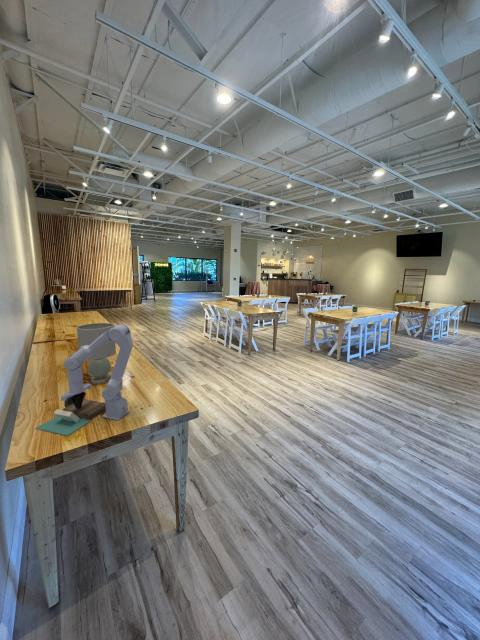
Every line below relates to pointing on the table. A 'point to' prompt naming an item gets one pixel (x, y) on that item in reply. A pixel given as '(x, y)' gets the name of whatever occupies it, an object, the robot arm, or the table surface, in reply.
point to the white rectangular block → (66, 415)
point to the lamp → (97, 350)
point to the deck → (87, 409)
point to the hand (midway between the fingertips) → (78, 408)
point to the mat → (62, 426)
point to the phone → (68, 402)
